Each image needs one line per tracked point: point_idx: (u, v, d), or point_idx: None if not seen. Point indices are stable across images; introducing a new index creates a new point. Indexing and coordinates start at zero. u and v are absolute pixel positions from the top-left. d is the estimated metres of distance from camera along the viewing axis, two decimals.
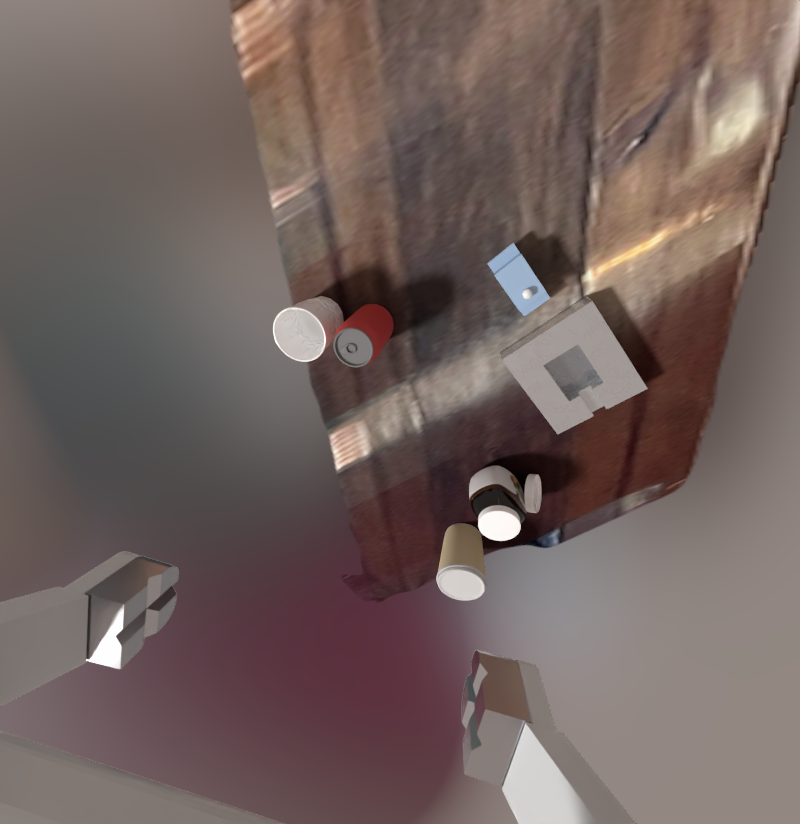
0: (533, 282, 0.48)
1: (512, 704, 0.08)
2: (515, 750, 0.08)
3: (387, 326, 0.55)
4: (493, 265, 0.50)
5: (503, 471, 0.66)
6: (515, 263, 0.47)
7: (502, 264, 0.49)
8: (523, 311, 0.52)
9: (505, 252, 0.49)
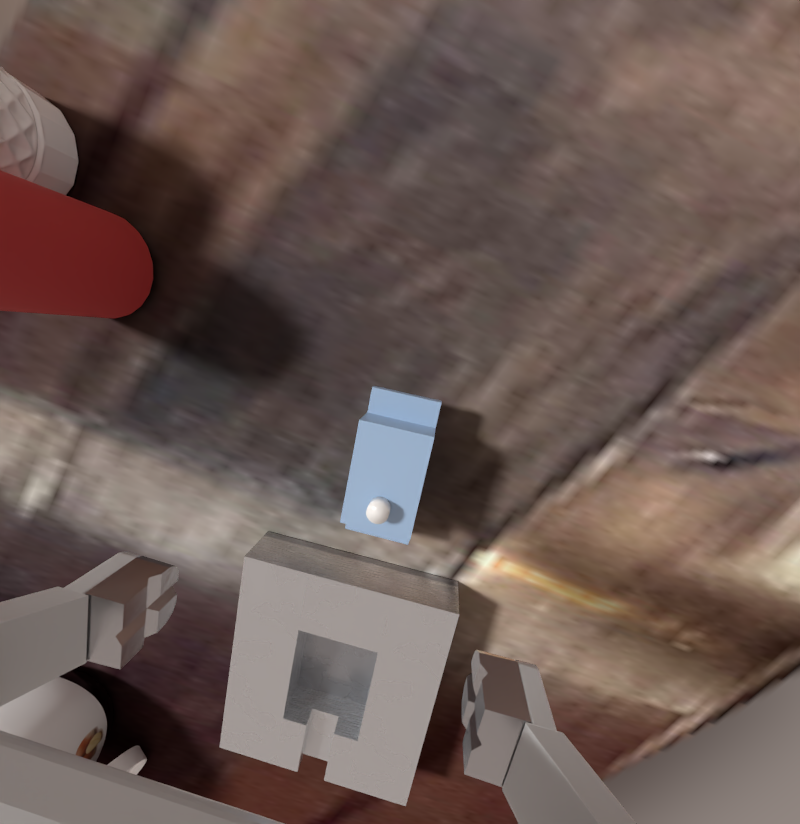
0: (406, 502, 0.20)
1: (512, 704, 0.08)
2: (515, 749, 0.08)
3: (89, 287, 0.20)
4: (379, 399, 0.21)
5: (86, 715, 0.29)
6: (410, 441, 0.19)
7: (393, 415, 0.21)
8: None
9: (416, 402, 0.21)
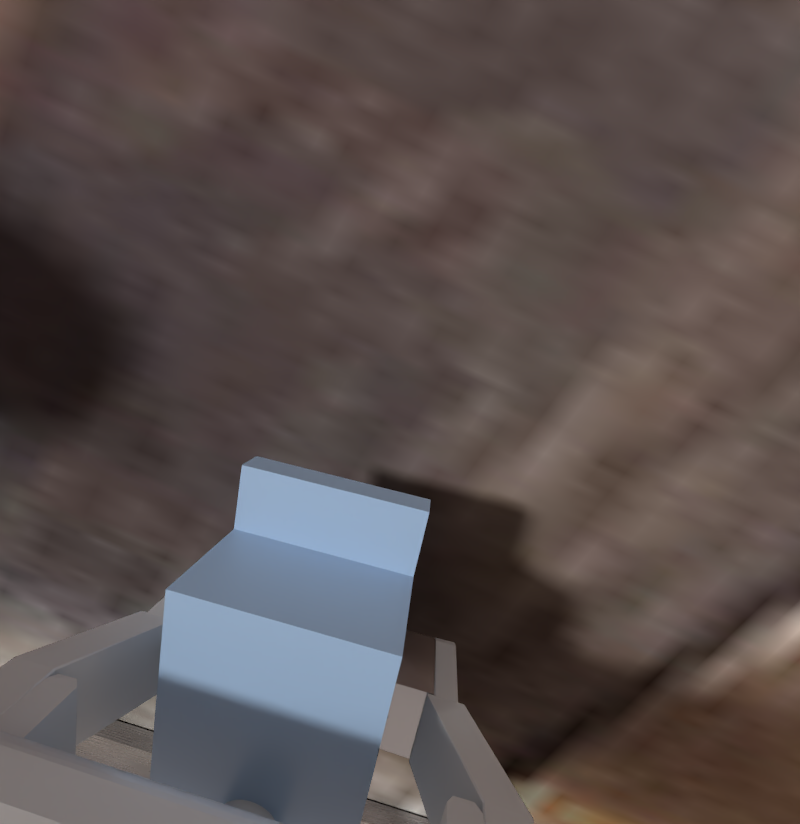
0: (322, 823, 0.07)
1: (418, 677, 0.08)
2: (420, 721, 0.08)
3: None
4: (261, 498, 0.08)
5: None
6: (324, 662, 0.06)
7: (299, 539, 0.08)
8: None
9: (360, 509, 0.08)
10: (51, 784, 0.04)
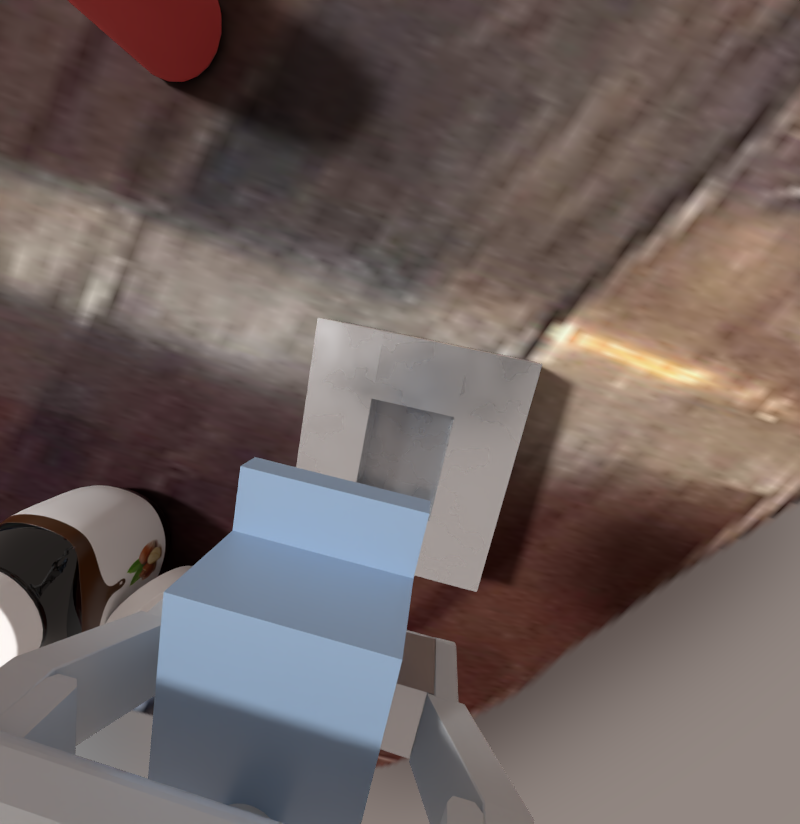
0: None
1: (418, 677, 0.08)
2: (420, 721, 0.08)
3: None
4: (260, 500, 0.08)
5: (148, 523, 0.29)
6: (323, 665, 0.06)
7: (298, 541, 0.08)
8: None
9: (359, 511, 0.08)
10: (51, 784, 0.04)
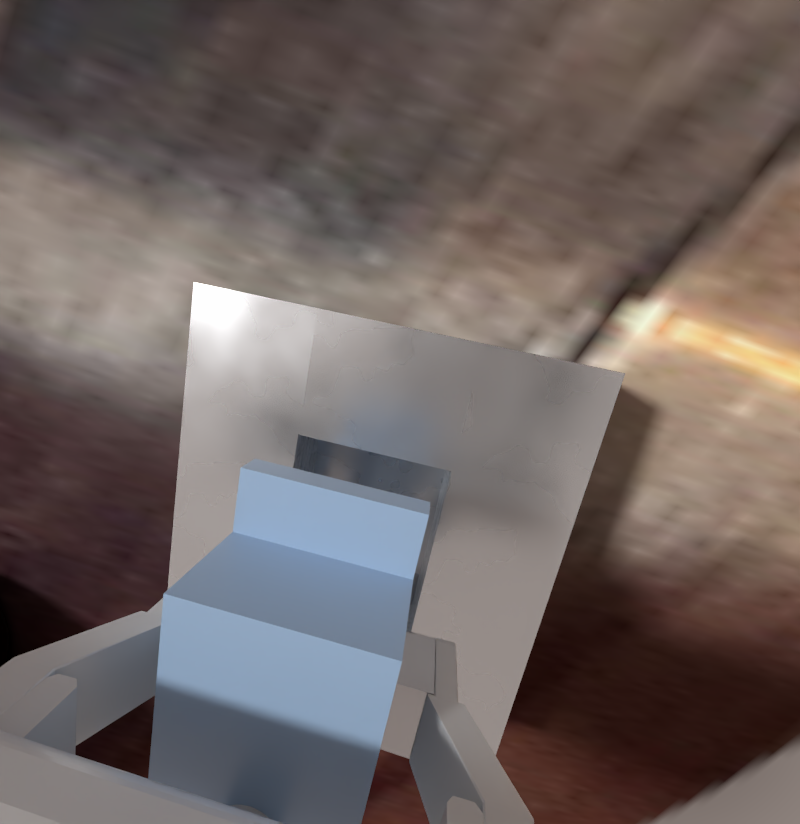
0: None
1: (419, 677, 0.08)
2: (420, 721, 0.08)
3: None
4: (259, 501, 0.08)
5: None
6: (323, 667, 0.06)
7: (298, 542, 0.08)
8: None
9: (360, 512, 0.08)
10: (51, 784, 0.04)
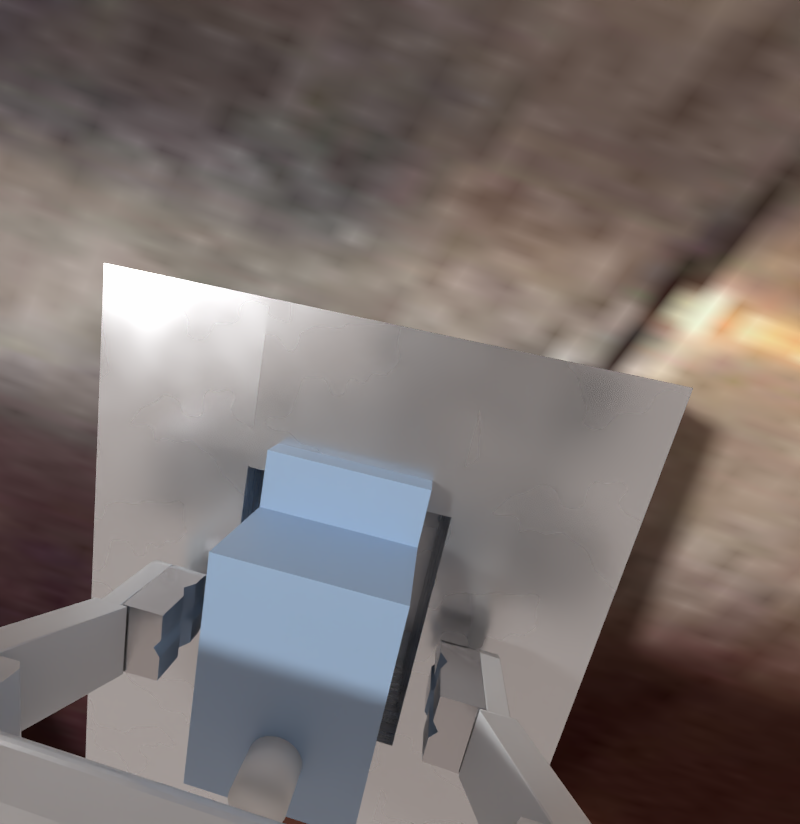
0: (340, 755, 0.08)
1: (468, 691, 0.08)
2: (471, 736, 0.08)
3: None
4: (284, 479, 0.09)
5: None
6: (343, 613, 0.07)
7: (317, 515, 0.09)
8: None
9: (371, 488, 0.09)
10: (51, 784, 0.04)
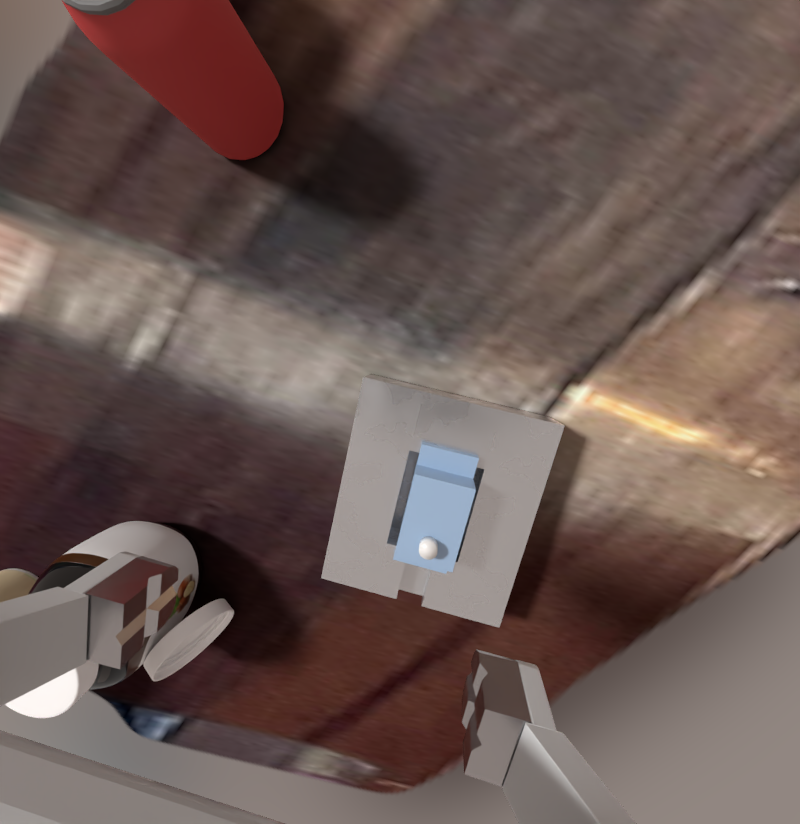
0: (450, 541, 0.24)
1: (512, 704, 0.08)
2: (515, 750, 0.08)
3: (247, 100, 0.22)
4: (426, 454, 0.25)
5: (185, 558, 0.30)
6: (455, 492, 0.24)
7: (438, 467, 0.25)
8: None
9: (458, 457, 0.25)
10: (51, 784, 0.04)
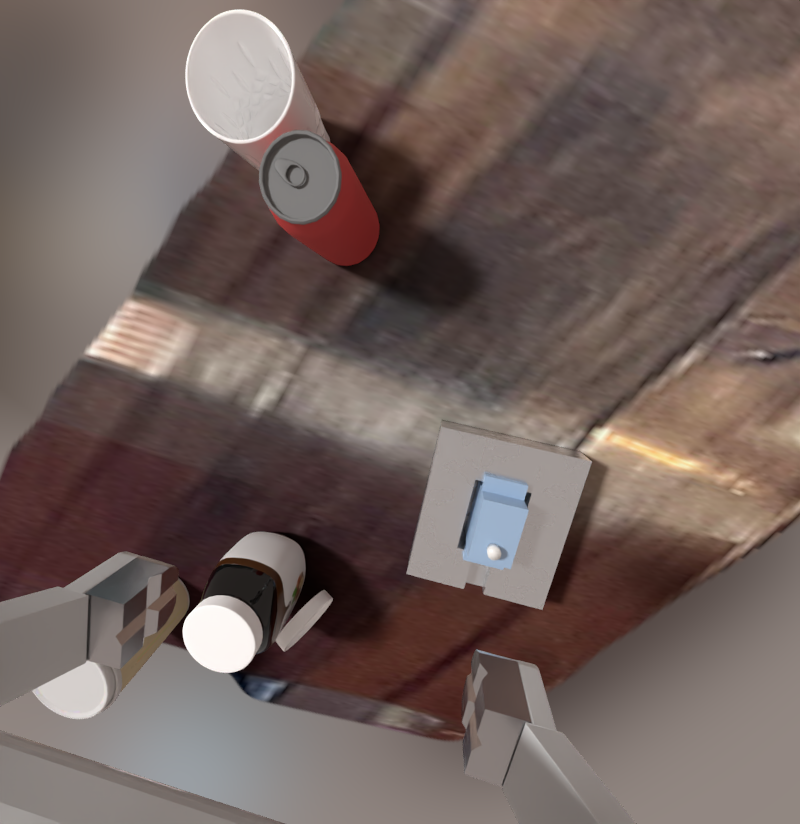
0: (509, 546, 0.33)
1: (512, 704, 0.08)
2: (515, 750, 0.08)
3: (364, 238, 0.31)
4: (489, 483, 0.35)
5: (300, 559, 0.40)
6: (513, 512, 0.33)
7: (497, 492, 0.35)
8: (467, 554, 0.36)
9: (512, 485, 0.34)
10: (51, 784, 0.04)
